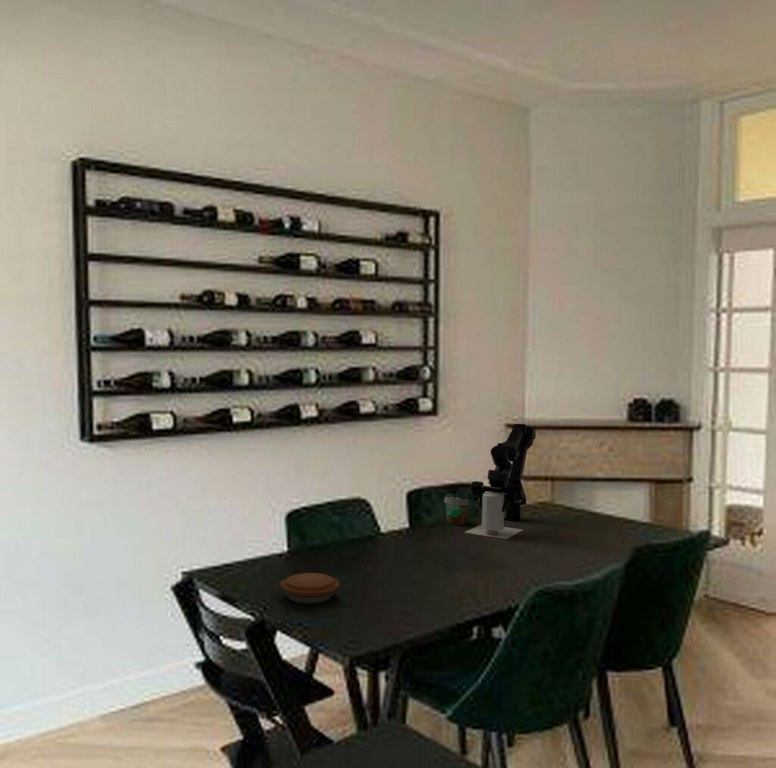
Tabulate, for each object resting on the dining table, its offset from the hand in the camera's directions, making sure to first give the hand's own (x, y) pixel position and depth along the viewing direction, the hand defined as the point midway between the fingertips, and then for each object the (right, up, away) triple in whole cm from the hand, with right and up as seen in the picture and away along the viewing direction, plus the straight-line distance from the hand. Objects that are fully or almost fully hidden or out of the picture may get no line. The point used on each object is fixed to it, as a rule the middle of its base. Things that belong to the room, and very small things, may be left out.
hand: (491, 510), depth 272 cm
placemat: (+2, -9, +6) cm, 10 cm away
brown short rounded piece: (0, -9, +2) cm, 9 cm away
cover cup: (+1, -7, +2) cm, 7 cm away
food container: (-12, -8, +17) cm, 23 cm away
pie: (-57, -12, -69) cm, 90 cm away
